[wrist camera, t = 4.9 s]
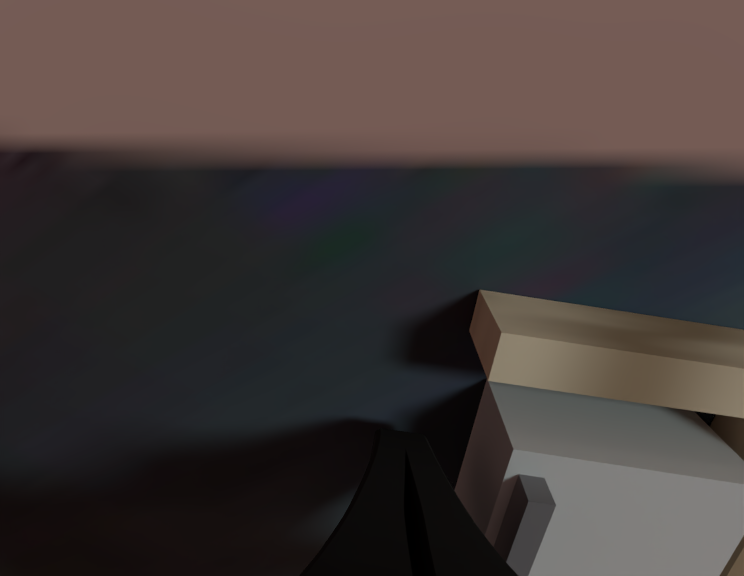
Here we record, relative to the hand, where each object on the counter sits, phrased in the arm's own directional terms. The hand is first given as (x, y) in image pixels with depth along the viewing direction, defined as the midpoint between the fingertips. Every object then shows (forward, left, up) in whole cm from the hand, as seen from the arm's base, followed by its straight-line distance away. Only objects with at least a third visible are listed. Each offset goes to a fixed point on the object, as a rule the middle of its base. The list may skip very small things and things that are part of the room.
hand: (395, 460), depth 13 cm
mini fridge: (-5, 0, -1) cm, 5 cm away
